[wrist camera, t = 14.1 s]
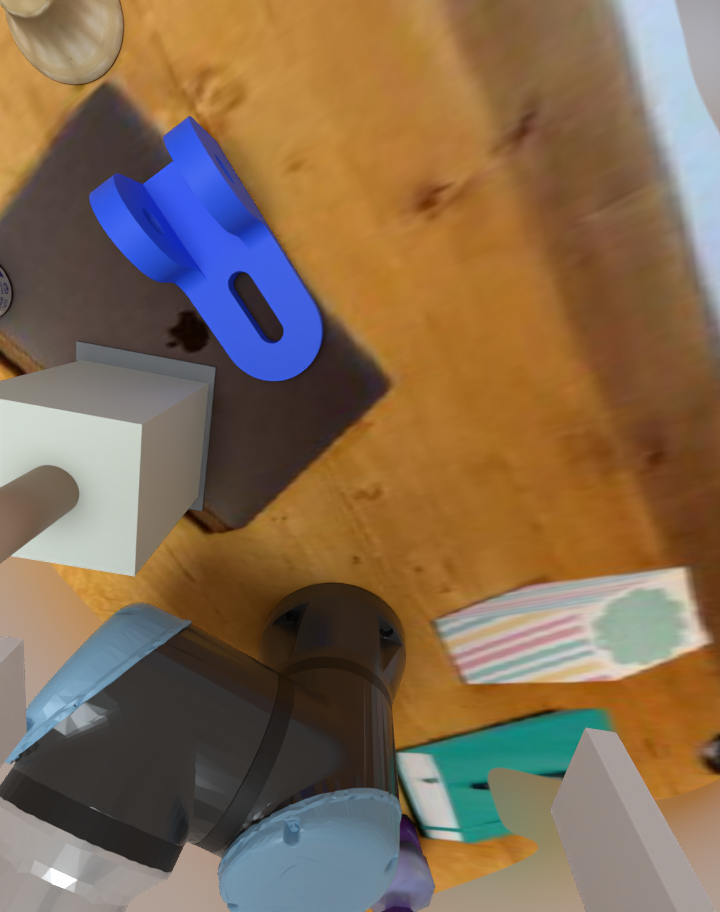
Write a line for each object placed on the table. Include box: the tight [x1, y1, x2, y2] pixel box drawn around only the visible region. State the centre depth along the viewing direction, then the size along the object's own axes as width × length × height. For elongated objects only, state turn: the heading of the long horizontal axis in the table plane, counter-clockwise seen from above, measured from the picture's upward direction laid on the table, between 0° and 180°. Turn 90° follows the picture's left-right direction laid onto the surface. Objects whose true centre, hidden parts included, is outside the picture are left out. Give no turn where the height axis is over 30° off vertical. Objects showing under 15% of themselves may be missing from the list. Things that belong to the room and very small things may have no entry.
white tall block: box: [0, 360, 208, 576], centre depth 35 cm, size 11×11×22 cm
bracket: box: [89, 116, 323, 381], centre depth 37 cm, size 18×8×9 cm, turn 32°
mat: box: [76, 341, 216, 511], centre depth 45 cm, size 14×12×1 cm
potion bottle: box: [370, 814, 435, 912], centre depth 56 cm, size 9×9×12 cm
